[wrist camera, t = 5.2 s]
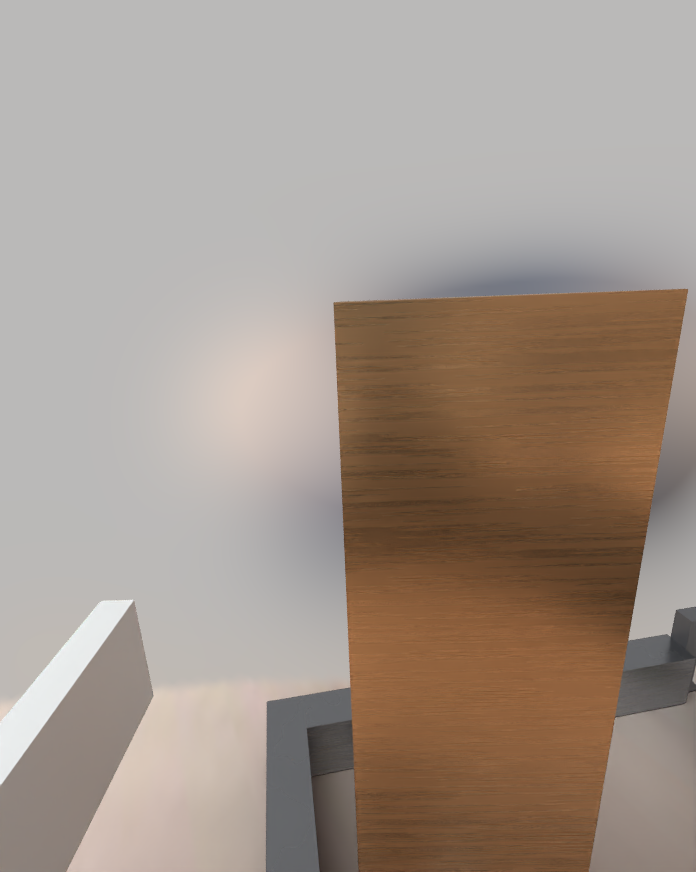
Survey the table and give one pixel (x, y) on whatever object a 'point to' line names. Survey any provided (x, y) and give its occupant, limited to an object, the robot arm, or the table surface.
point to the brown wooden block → (494, 563)
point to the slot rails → (333, 751)
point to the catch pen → (686, 634)
